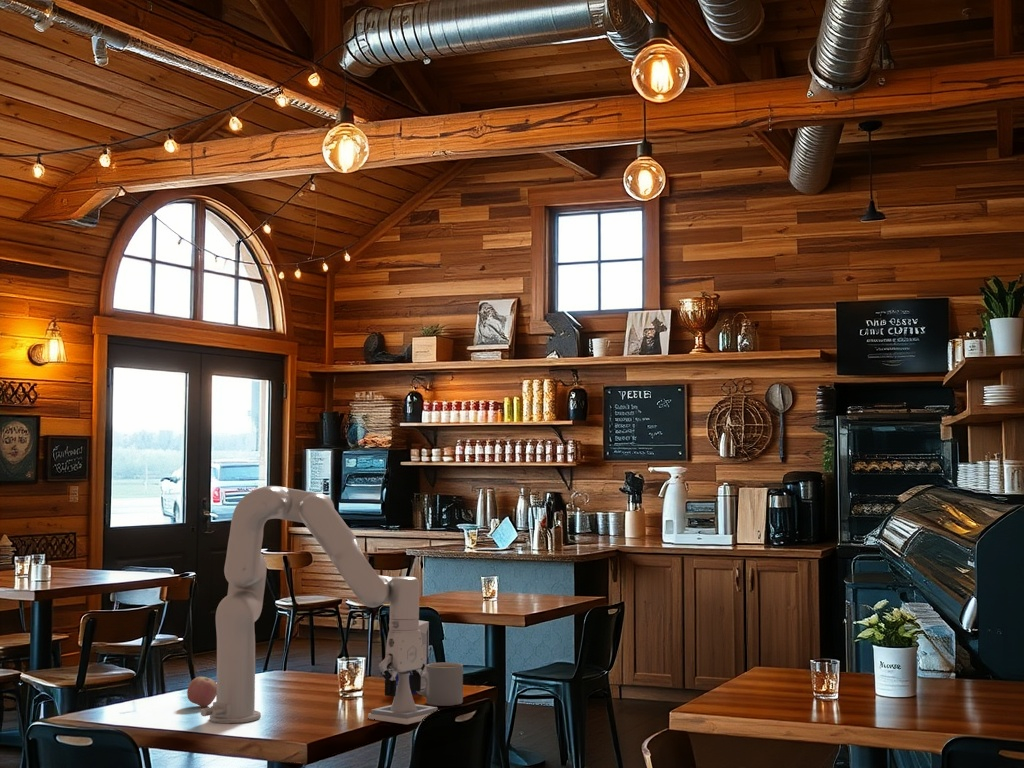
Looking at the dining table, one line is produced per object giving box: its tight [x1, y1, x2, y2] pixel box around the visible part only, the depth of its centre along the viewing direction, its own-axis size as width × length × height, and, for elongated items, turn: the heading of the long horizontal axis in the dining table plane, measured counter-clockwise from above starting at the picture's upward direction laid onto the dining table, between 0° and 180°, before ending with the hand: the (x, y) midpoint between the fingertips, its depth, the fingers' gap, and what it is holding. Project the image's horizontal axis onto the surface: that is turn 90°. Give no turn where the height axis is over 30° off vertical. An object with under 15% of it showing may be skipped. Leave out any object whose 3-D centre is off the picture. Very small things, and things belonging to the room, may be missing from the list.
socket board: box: [367, 703, 439, 725], centre depth 305 cm, size 13×13×2 cm
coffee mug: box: [416, 661, 464, 707], centre depth 326 cm, size 13×10×10 cm
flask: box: [390, 672, 417, 713], centre depth 306 cm, size 7×7×10 cm
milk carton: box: [395, 619, 430, 695], centre depth 344 cm, size 7×7×20 cm
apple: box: [186, 676, 217, 708], centre depth 321 cm, size 8×8×8 cm
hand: (402, 693), depth 306 cm, fingers open, 9 cm apart
